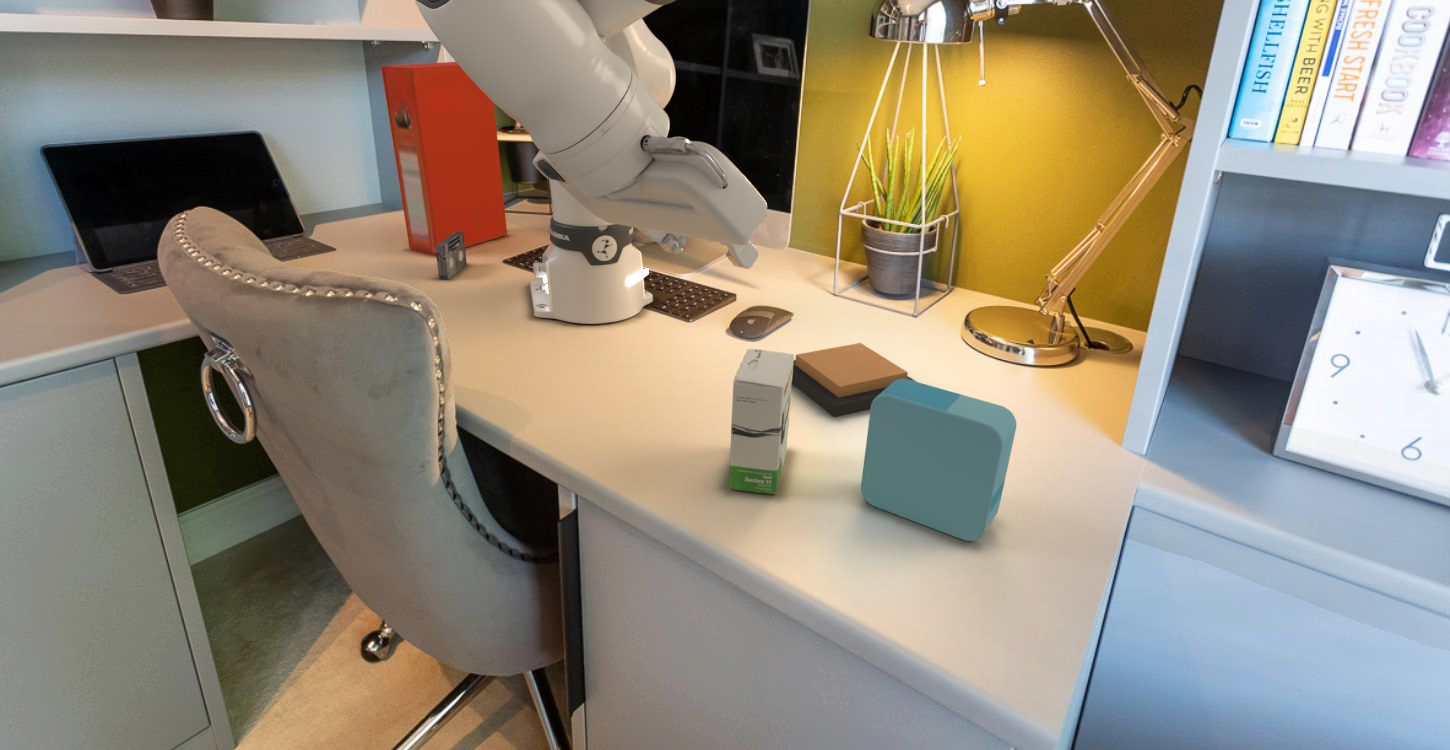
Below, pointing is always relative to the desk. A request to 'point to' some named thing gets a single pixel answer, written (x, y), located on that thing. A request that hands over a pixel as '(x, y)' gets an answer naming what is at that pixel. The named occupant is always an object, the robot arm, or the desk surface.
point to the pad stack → (844, 377)
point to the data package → (937, 457)
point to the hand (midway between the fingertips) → (711, 254)
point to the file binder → (444, 154)
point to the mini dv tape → (451, 255)
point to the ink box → (760, 420)
